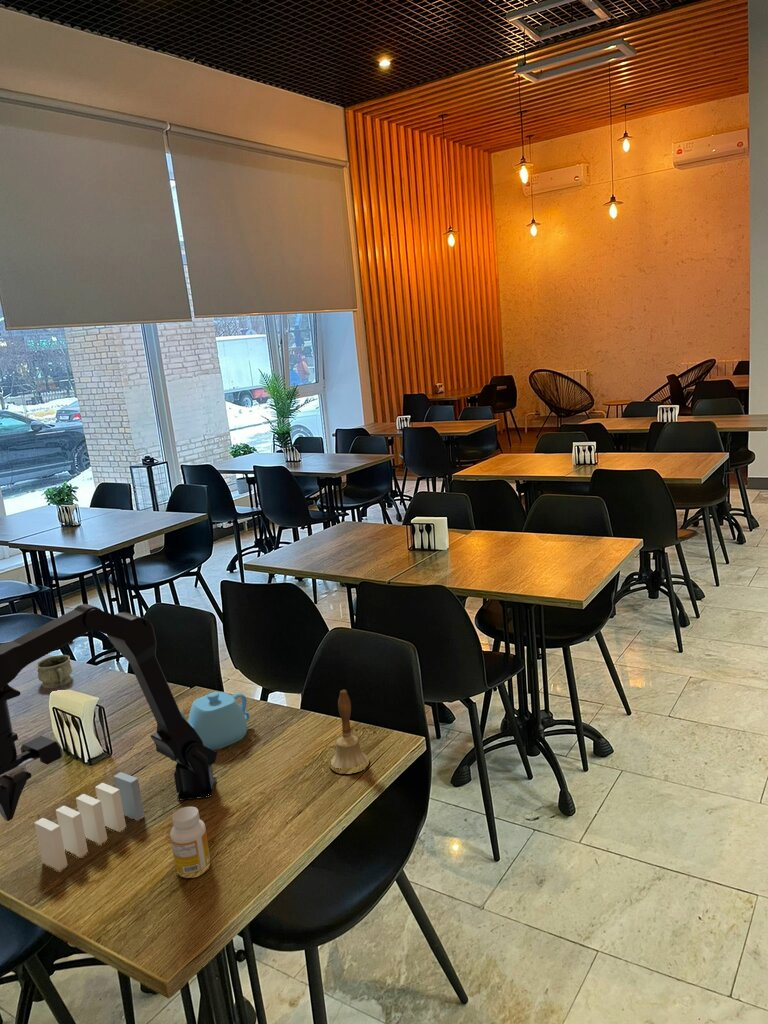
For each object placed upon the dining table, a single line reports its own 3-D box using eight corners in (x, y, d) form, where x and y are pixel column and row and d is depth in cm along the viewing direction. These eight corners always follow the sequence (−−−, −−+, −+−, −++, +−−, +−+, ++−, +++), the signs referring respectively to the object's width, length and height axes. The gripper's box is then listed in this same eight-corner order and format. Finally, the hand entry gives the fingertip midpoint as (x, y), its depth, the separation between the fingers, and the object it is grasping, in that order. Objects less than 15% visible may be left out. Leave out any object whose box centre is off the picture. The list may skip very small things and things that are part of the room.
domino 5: (127, 810, 146) (120, 772, 144) (144, 816, 143) (137, 778, 142) (120, 814, 145) (113, 776, 143) (137, 821, 142) (130, 782, 140)
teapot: (157, 700, 168) (232, 674, 178) (164, 745, 170) (237, 717, 181) (181, 719, 158) (258, 690, 169) (188, 766, 160) (264, 735, 171)
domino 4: (109, 821, 143) (102, 782, 141) (126, 828, 140) (119, 789, 138) (102, 826, 142) (95, 786, 140) (119, 833, 139) (112, 793, 137)
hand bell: (345, 750, 161) (338, 679, 158) (378, 759, 156) (371, 686, 153) (320, 769, 155) (312, 696, 151) (353, 779, 150) (346, 704, 147)
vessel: (80, 682, 209) (76, 661, 208) (46, 694, 203) (42, 671, 202) (66, 671, 218) (62, 650, 217) (33, 681, 213) (29, 660, 211)
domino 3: (90, 833, 140) (83, 793, 138) (107, 841, 137) (100, 800, 135) (83, 838, 138) (75, 798, 137) (100, 846, 136) (92, 805, 134)
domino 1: (50, 858, 133) (42, 817, 132) (68, 867, 131) (59, 825, 129) (42, 863, 132) (34, 822, 130) (59, 873, 129) (51, 830, 128)
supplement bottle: (197, 853, 131) (189, 799, 129) (218, 865, 128) (210, 810, 126) (169, 872, 127) (160, 816, 125) (190, 884, 123) (181, 828, 121)
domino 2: (71, 845, 137) (63, 805, 135) (88, 854, 134) (80, 812, 132) (63, 850, 135) (55, 810, 134) (80, 859, 132) (72, 817, 131)
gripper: (19, 697, 133) (34, 779, 136) (-96, 745, 118) (-76, 836, 121) (56, 710, 127) (71, 795, 130) (-60, 762, 112) (-40, 858, 115)
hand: (8, 819), depth 124 cm, fingers closed
